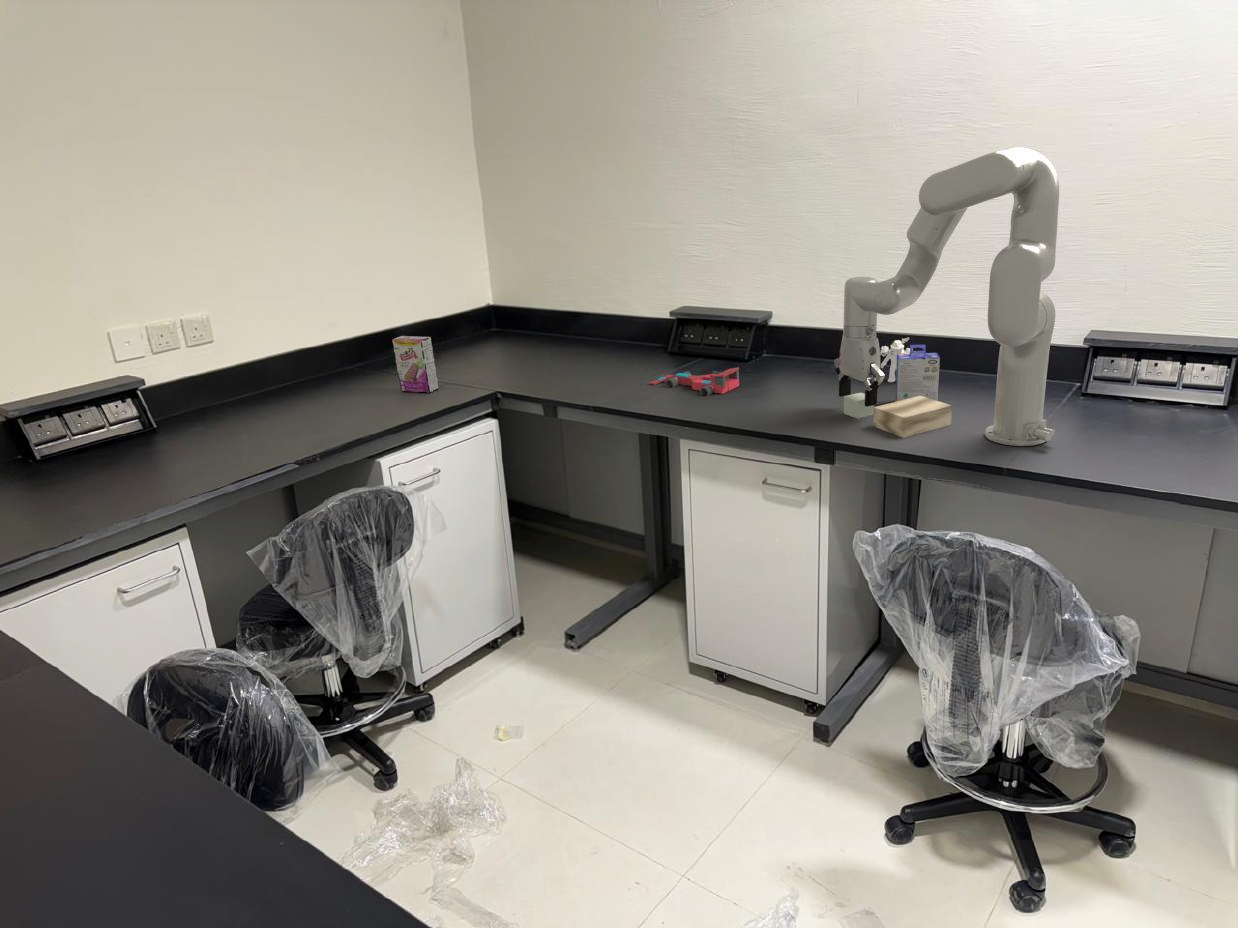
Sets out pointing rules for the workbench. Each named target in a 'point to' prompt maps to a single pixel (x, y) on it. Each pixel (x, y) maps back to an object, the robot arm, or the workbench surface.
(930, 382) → the ink cartridge box
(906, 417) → the maple block
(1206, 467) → the workbench surface
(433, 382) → the candy bar box
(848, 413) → the sage cube
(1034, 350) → the robot arm
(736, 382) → the race car
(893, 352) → the hat wearing toy figure
